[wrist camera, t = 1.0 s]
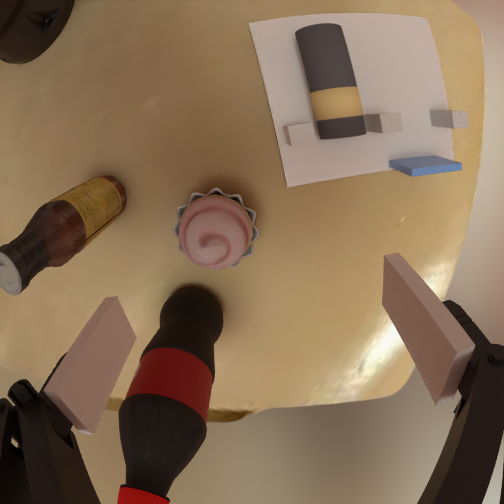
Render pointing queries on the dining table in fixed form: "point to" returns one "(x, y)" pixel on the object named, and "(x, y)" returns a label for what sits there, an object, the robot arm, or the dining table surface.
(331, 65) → the banded cylinder post
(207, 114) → the dining table surface
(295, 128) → the white base plate
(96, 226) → the sauce bottle
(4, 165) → the dining table surface
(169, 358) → the cola bottle
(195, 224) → the cupcake
